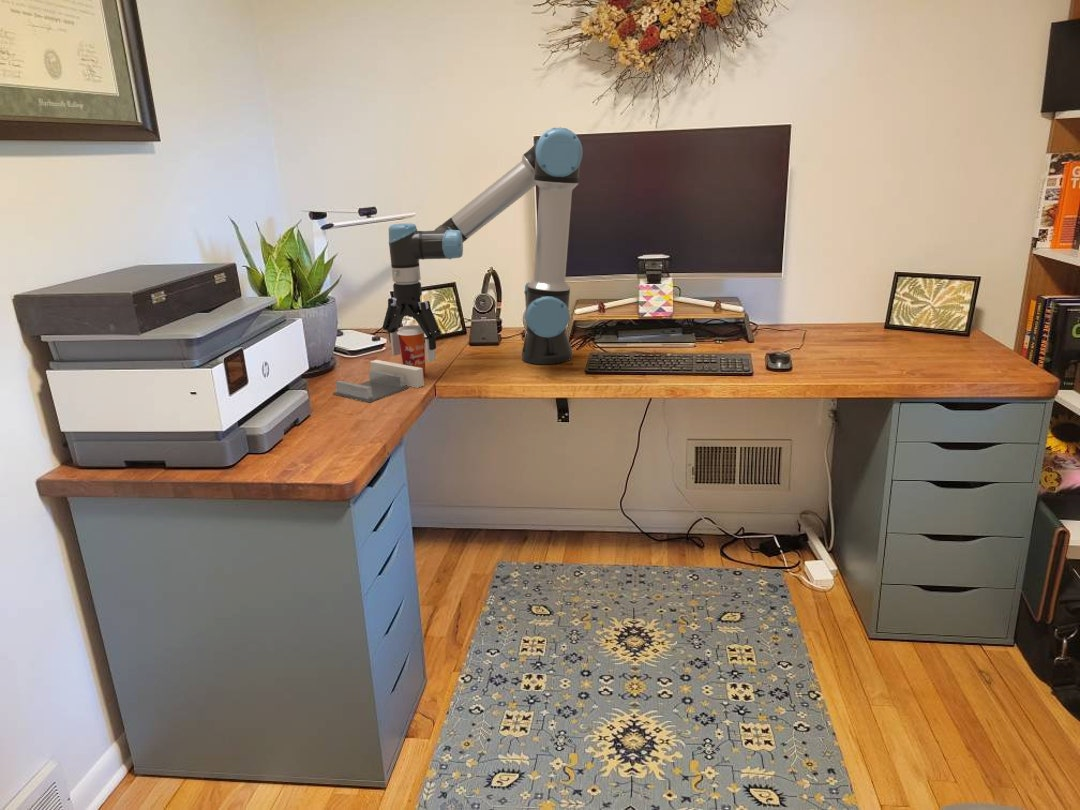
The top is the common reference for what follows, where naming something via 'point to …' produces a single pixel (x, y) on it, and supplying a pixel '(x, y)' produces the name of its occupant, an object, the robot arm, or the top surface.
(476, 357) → the top surface
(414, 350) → the paper cup
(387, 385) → the bracket
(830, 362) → the top surface
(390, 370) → the board
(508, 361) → the top surface
